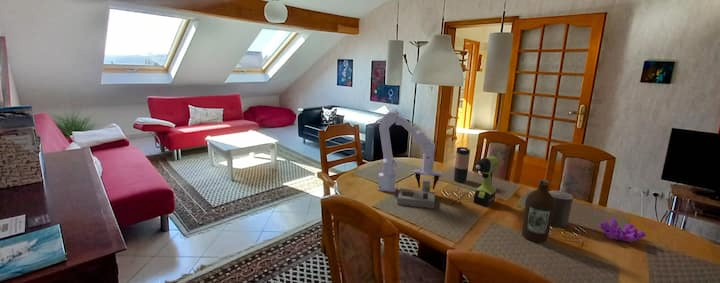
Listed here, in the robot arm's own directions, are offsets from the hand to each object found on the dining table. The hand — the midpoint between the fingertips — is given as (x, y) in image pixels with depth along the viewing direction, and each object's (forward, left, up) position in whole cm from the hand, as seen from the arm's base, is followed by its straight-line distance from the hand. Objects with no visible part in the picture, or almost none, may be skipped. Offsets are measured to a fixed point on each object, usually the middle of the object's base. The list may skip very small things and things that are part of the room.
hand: (426, 187), depth 172 cm
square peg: (0, 0, -4) cm, 4 cm away
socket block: (-5, -11, -4) cm, 12 cm away
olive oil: (+45, -32, -4) cm, 56 cm away
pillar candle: (+58, -16, -4) cm, 61 cm away
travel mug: (+19, +25, -4) cm, 32 cm away
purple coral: (+80, -24, -4) cm, 84 cm away
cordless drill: (+27, -6, -4) cm, 28 cm away
